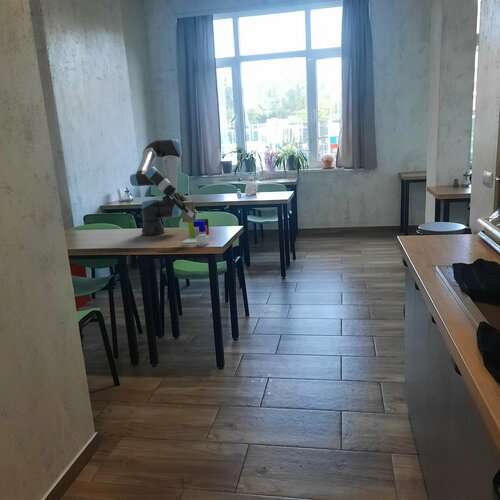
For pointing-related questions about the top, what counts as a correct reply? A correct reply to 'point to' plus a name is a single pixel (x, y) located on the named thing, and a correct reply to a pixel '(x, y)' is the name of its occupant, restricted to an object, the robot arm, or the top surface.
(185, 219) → the walnut block
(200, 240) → the sugar bowl
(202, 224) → the puzzle toy
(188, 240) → the pad
